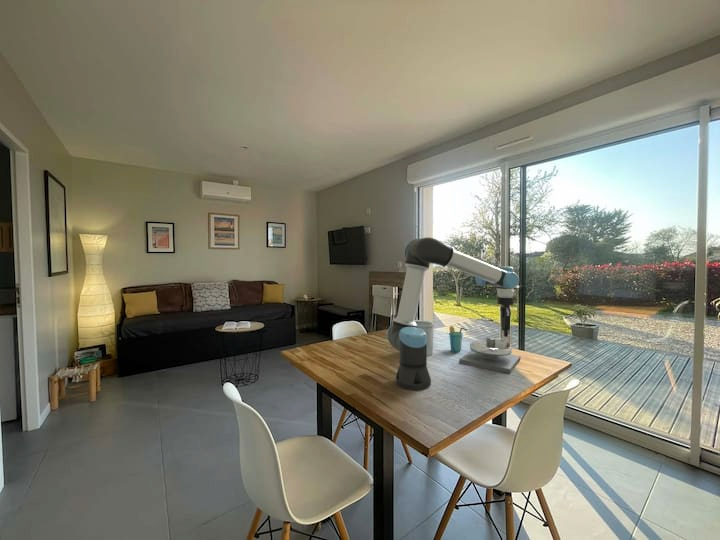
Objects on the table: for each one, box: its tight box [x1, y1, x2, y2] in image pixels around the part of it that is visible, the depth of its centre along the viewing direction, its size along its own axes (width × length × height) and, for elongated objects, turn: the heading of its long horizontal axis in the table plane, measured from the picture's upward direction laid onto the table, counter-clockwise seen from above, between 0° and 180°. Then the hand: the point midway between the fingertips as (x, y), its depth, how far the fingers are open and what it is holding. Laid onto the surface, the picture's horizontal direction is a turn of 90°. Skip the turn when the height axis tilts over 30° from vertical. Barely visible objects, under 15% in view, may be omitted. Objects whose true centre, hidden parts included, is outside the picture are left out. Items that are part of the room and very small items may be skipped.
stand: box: [458, 349, 522, 374], centre depth 159 cm, size 24×24×6 cm
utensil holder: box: [415, 319, 435, 357], centre depth 174 cm, size 15×15×18 cm
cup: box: [448, 325, 468, 353], centre depth 175 cm, size 14×8×15 cm, turn 30°
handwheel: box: [469, 334, 513, 356], centre depth 158 cm, size 20×20×8 cm
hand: (505, 342), depth 156 cm, fingers closed
